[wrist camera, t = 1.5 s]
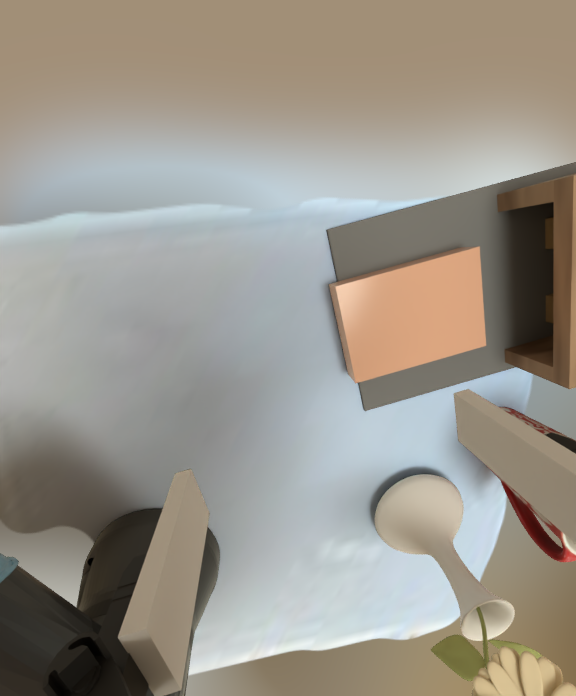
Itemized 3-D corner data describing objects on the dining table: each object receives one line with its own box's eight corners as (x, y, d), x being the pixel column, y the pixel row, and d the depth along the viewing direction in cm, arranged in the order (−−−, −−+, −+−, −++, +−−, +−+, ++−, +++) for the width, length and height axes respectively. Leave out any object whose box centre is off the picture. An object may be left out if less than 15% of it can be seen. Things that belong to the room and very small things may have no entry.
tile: (348, 374, 34) (355, 383, 32) (328, 284, 31) (335, 286, 29) (469, 339, 34) (486, 345, 32) (461, 247, 31) (479, 246, 29)
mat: (363, 409, 36) (365, 411, 36) (326, 229, 30) (327, 229, 30) (590, 343, 37) (594, 344, 36) (598, 156, 31) (602, 154, 30)
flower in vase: (467, 475, 40) (778, 790, 17) (431, 543, 43) (654, 899, 19) (377, 455, 38) (589, 791, 14) (345, 529, 41) (477, 915, 17)
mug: (467, 399, 37) (580, 475, 24) (536, 397, 38) (680, 469, 25) (449, 488, 41) (540, 595, 28) (512, 484, 42) (629, 586, 29)
